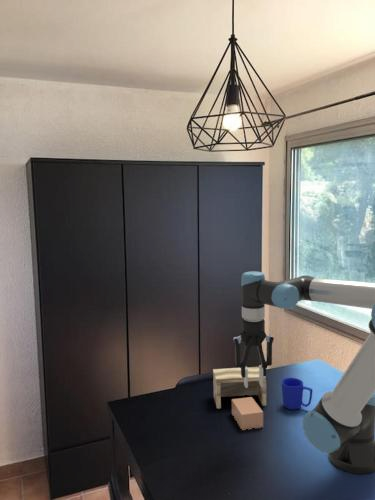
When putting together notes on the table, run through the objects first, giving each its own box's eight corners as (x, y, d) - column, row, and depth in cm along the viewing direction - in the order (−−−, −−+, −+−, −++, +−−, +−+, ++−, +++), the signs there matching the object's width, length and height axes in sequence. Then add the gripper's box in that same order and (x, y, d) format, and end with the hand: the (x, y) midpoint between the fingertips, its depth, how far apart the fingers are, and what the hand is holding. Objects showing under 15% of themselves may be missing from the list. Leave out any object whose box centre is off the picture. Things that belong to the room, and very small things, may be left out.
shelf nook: (266, 405, 172) (266, 377, 170) (217, 408, 170) (216, 380, 169) (259, 393, 182) (259, 366, 181) (213, 395, 181) (212, 369, 180)
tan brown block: (263, 427, 156) (263, 412, 155) (241, 430, 154) (241, 414, 154) (251, 411, 168) (251, 396, 167) (231, 414, 166) (231, 399, 165)
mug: (307, 416, 162) (307, 391, 161) (277, 407, 170) (277, 383, 168) (315, 407, 169) (316, 383, 168) (286, 399, 176) (286, 375, 175)
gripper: (276, 314, 148) (276, 379, 151) (225, 316, 147) (226, 382, 150) (282, 320, 141) (282, 389, 144) (228, 323, 140) (229, 392, 143)
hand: (253, 385), depth 147 cm, fingers open, 4 cm apart
